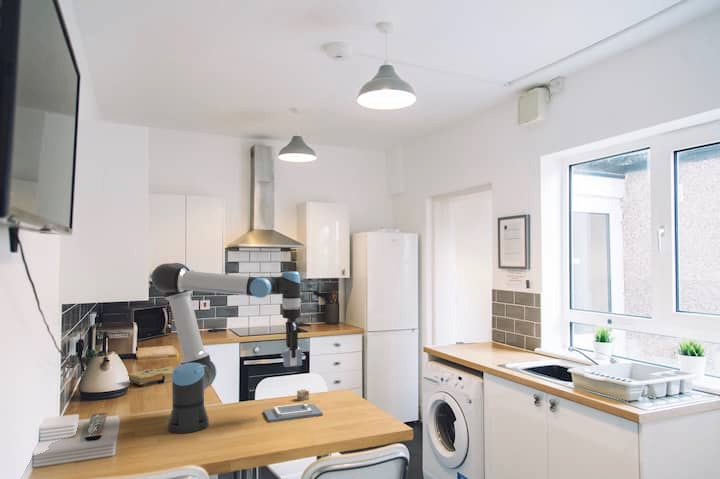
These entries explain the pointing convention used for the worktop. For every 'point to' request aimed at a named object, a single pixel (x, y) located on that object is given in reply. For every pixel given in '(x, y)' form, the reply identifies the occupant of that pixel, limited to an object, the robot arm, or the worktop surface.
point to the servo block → (287, 357)
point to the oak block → (303, 395)
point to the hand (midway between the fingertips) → (292, 364)
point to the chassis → (292, 412)
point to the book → (152, 376)
